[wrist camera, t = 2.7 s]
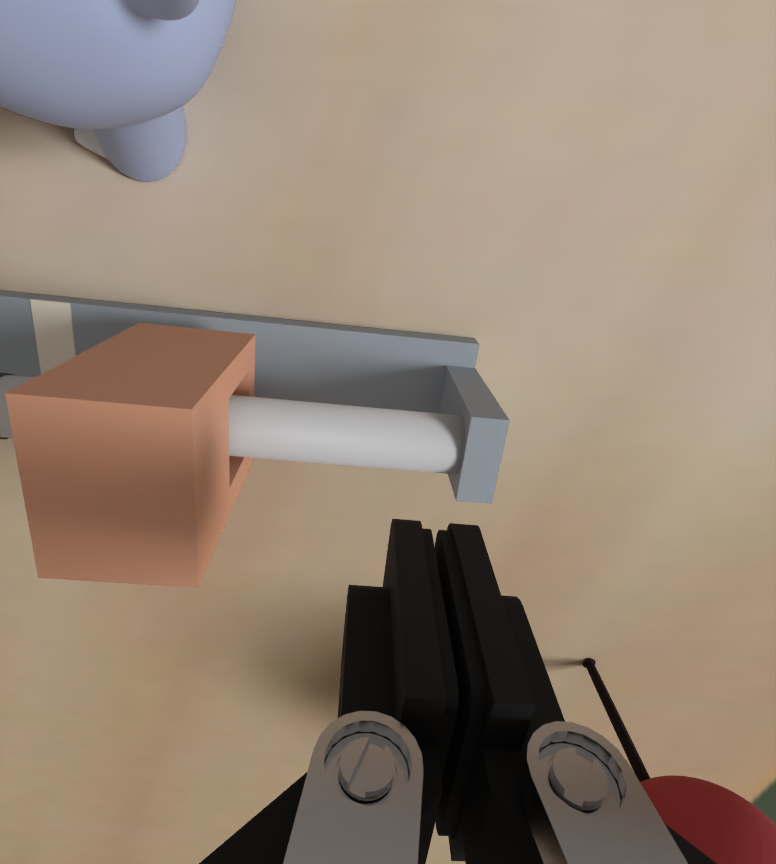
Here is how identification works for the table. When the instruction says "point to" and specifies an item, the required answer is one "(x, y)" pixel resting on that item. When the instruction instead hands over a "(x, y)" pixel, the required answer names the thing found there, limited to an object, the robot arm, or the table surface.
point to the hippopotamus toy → (112, 71)
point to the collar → (133, 454)
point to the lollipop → (699, 805)
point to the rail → (302, 386)
